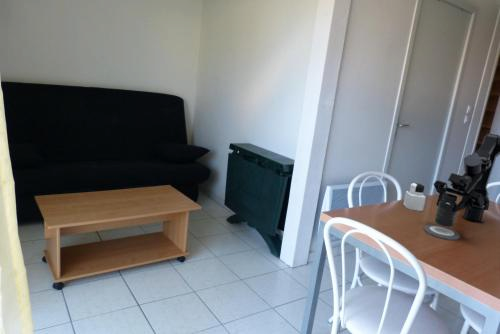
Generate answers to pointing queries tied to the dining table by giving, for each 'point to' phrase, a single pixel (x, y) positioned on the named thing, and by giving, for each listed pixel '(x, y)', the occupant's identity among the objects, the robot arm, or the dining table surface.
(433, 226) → the trivet
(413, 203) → the medicine bottle
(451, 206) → the supplement bottle
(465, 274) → the dining table surface
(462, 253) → the dining table surface
